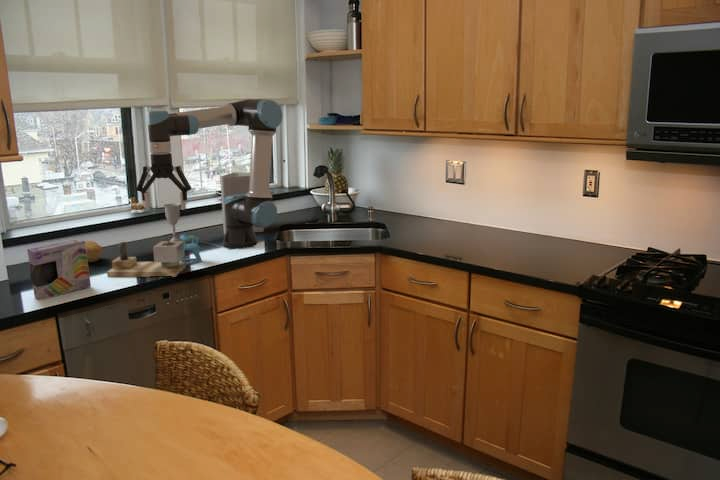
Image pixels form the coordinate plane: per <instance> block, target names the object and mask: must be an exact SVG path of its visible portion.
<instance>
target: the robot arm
mask: <svg viewBox="0 0 720 480" xmlns="http://www.w3.org/2000/svg"><path fill="white" fill-rule="evenodd" d="M146 115H147V117H146V120H147V121H146V122H147V123H146V124H147V129H148V130H147V131H148V141H149V142H148V143H149V153H151V154H150V163H151V166H148V165H144V166H143V167H142V174H141V176H140V179H139V181H138V184H137V186H136V187H135V188H136V189H135V190H136V191H137V192H140V193H141V197H142V201H143V202H144V205H145V211H149V210H150V209H151V200H150V191H148V189H149V188H150V187H151V186H152V185H153V183H154V182H155V180H156V179H169V180H171V182H172V183H173V184H174V185H175V186H176V187H177V188H178V189H179V190H180V191H181V192H179V196H180V208H181V211H184V210H186V201H187V200H188V192H189V191H190V190H192V187H191V184H190V183H189V181H188V179H187V177H186V176H185V174H184V172H183V170H182V166H181V165H177V166H173V156H172V153H171V152H172V145H171V137H174V136H175V137H176V136H191V135H196V134H197V133H199V132H198V131H199V130H200V129H204V128H211V127H218V126H225V125H227V126H228V127H234V126H235V127H236V126H240V127H241V126H242V127H248V132H249V133H250V135H251V147H250V163H249V164H250V166H249V173H250V183H249V192H248V193H247V194H237V195H230V196H227V197H226V198H225V205H224V206H225V215H226V232H225V234H224V237H223V242H222V243H223V244H222V245H223V247H224V248H226V249H234V250H236V249H237V250H241V249H248V248H253V247H255V246H257V245H258V238H257V236H256V232H254V230H253V226H255V227H262V228H264V229H265V228H267V227H269V226H271V225H272V224H273V223H274V222H275V221H276V219H277V217H278V216H277V215H278V208H277V206H276V204H275V203H274V202H273V195H272V193H270V185H271V184H270V182H271V164H272V148H273V147H272V146H273V136H274V135H275V134H276V133H277V128H278V127H279V126H280V124H282V122H283V112H282V109H281V106H280V105H279V104H278V103H277V101H275V100H272V99H267V98H263V99H262V98H260V99H259V98H258V99H257V98H254V99H253V98H250V99H249V98H247V99H243V100H239V101H234V102H229V103H225V104H224V105H223V106H218V107H210V108H202V109H195V110H187V111H179V112H173V113H169V112H168V111H167V110H149V111H148V112H147V114H146ZM149 172H152V175H151V176H150V178H149V180H148V181H147V182H146V179H147V177H148V174H149ZM173 172H175V173H176V174H177V176H178V177H179V179H180V180H179V179H178V178H177V176H176V175H175V173H173ZM145 182H146V183H145Z"/></svg>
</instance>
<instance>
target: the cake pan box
mask: <svg viewBox="0 0 720 480" xmlns="http://www.w3.org/2000/svg"><path fill="white" fill-rule="evenodd" d="M85 242H86V241H85V240H84V239H81V238H76V239H72V240H68V241H67V240H66V241H61V242H60V241H59V242H55V243H49V244H45V245H41V246H36V247H30V248H27V256H28V262H29V266H30V267H29V268H30V271H29V274H30V275H29V276H30V279H31V283H32V289H33V295H34V298H36V299H37V300H39V301H41V300H46V299H49V298H52V297H57V296H60V295H65V294H67V293H71V292H75V291H76V292H77V291H79V290H83V289H86V288H90V287H91V286H92V285H91V278H90V269H89V268H90V267H89V262H88V260H87V252H86V245H85Z"/></svg>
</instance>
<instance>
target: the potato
mask: <svg viewBox="0 0 720 480" xmlns="http://www.w3.org/2000/svg"><path fill="white" fill-rule="evenodd" d="M85 245H86V252H87V260H88V263H95V262H97V261H99V259H100V258H101V256H102V255H103V251H104V250H103V248H102V246H101V245H99V244H98V243H97V242H96V241H92V240H86V241H85Z"/></svg>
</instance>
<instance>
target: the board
mask: <svg viewBox="0 0 720 480" xmlns="http://www.w3.org/2000/svg"><path fill="white" fill-rule="evenodd" d="M165 246H172V243H171V242H166V243H165ZM118 248H119V249H118V250H119V256H118V257H116V258H115V259H113V260H112V261H111V267H112V268H110V269H108V271H107V272H106V273H107V278H108V277H109V278H110V277H111V278H113V277H115V278H125V277H126V278H135V277H136V278H140V277H141V278H147V277H148V278H151V277H150V276H172V277H171V278H174V277H177V276H178V275H179V274H180V273H181V272H183V270H185V269H186V268H187V267H186V263H187V261H185V262H154V261H137V256H128V250H127V242H126V241H121V242H118ZM180 271H181V272H180ZM179 272H180V273H179ZM178 273H179V274H178ZM177 274H178V275H177Z"/></svg>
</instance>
